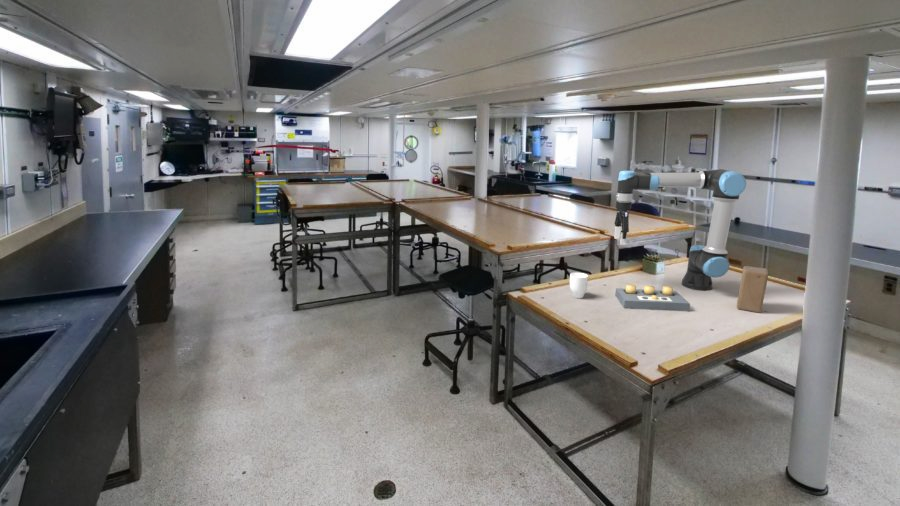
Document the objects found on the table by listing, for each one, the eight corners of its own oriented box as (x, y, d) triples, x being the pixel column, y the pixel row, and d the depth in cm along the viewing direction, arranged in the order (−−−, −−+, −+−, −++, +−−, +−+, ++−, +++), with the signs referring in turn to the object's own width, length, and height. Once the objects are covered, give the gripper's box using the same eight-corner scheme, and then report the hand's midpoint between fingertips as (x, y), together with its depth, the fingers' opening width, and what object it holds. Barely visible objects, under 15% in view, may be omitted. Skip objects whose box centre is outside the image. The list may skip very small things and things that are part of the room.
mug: (589, 299, 237) (590, 276, 234) (573, 300, 236) (574, 278, 233) (579, 291, 248) (580, 270, 245) (564, 292, 247) (565, 271, 244)
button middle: (652, 293, 238) (653, 285, 237) (654, 296, 233) (656, 288, 232) (642, 293, 238) (643, 285, 237) (645, 296, 234) (646, 288, 233)
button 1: (633, 292, 239) (634, 284, 238) (636, 296, 234) (637, 287, 233) (624, 292, 239) (625, 284, 238) (626, 295, 235) (627, 287, 234)
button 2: (670, 294, 237) (671, 286, 236) (673, 297, 232) (674, 289, 231) (660, 294, 237) (661, 285, 236) (663, 297, 233) (664, 289, 232)
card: (668, 298, 228) (669, 295, 228) (672, 301, 224) (672, 298, 223) (637, 296, 230) (637, 293, 230) (640, 300, 225) (640, 297, 225)
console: (675, 298, 240) (676, 290, 239) (688, 311, 222) (689, 303, 221) (615, 295, 243) (616, 288, 242) (623, 308, 226) (624, 300, 225)
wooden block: (760, 313, 220) (768, 273, 215) (736, 309, 225) (743, 270, 220) (760, 307, 229) (768, 268, 223) (736, 303, 234) (743, 265, 228)
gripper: (611, 197, 250) (607, 236, 256) (622, 204, 226) (617, 247, 232) (625, 197, 249) (621, 236, 255) (638, 205, 225) (633, 247, 231)
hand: (619, 241), depth 243 cm, fingers open, 13 cm apart
